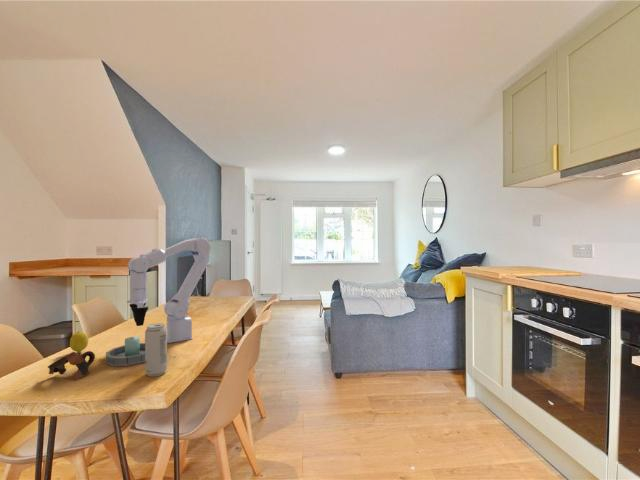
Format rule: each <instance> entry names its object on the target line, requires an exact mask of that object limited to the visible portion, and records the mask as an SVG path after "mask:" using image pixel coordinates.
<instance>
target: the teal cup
mask: <svg viewBox="0 0 640 480" xmlns="http://www.w3.org/2000/svg"><path fill="white" fill-rule="evenodd" d="M140 339H141V338H140V336H130V337H127V338H124V345H125V357H128V356H134V355H139V354H140V343H141V342H140Z"/></svg>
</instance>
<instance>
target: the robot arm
mask: <svg viewBox="0 0 640 480" xmlns="http://www.w3.org/2000/svg"><path fill="white" fill-rule="evenodd" d="M211 248H212V247H211V245H210V241H209V240H208V239H207V238H205V237H200V238H199V237H197V238H196V237H191V238H190V239H184V240H182V241H180V242H178V243H176V244H173V245H172V246H169V247H167V248H165V249H161V248H153V249H151V251H150V252H147V253H141V254H139V257H137V256H136V257H132V258H130V260H128V263H127V264H126V266H127V269H128V270H129V300H126V304H129V307H130V309H131V311H132V315H133V316H132V317H133V319H134V322H135V324H136V325H135V326H136V327H141V326H144V323H145V318H146V315H147V312H148V310H149V306H146V303H147V302H148V301H149V300H148V297H147V296H148V287H147V286H148V283H147V281H148V279H147V271H148V270H149V269H151V268H153V267H155V266H157V265H159V264H162V263H165V262H166V260H167V258H168V257H171V256H173V255H176V254H179V253H181V252H184V251H188V252H189V253H190V254H191V255H192V257H193V259H194V262H193V264H192V266H191V268H190V269H189V271H188V273H187V275H186V277H184V278H185V279H184V280H183V283H182V284H181V286H179V287H180V288H179V290H178V291H177V293H176V294H175V295H173V296H172V297H171V299H170V300H169V301H168V302H167V303H166V304H165V305H164V308H163V310H164V313H165V314H166V315H167V316H166V330H167V344H171V343H178V342H182V341H189V340H193V331H192V329H193V325H192V324H193V323H192V318H191V316H187V315H188V313H189V312H188V311H189V307H190V304H191V300H190V297H191V295H192V294H193V292H194V290H195V289H196V287H197V285H198V283H199V281H200V279H201V277H202V275H203V273H204V272H205V270H206V268H207V266H208V264H209V261H210V250H211Z"/></svg>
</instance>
